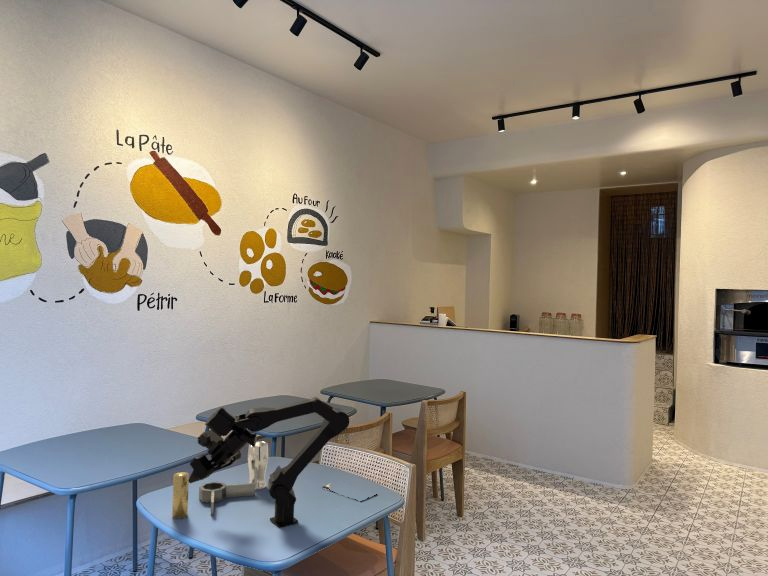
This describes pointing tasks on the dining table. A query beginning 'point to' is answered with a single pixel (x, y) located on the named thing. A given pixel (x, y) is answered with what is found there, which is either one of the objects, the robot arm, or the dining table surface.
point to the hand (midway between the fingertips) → (199, 476)
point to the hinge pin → (180, 495)
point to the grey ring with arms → (223, 492)
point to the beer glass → (258, 463)
